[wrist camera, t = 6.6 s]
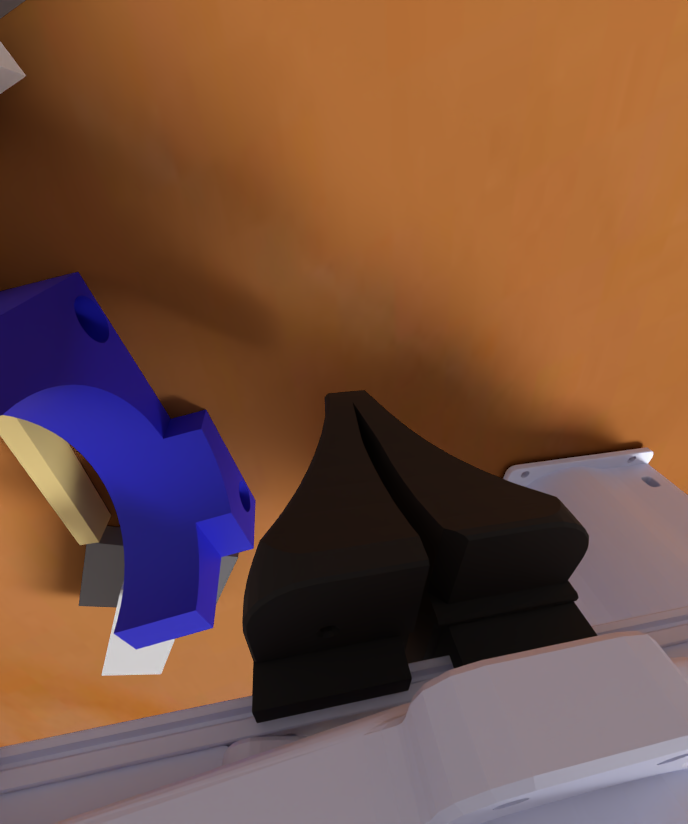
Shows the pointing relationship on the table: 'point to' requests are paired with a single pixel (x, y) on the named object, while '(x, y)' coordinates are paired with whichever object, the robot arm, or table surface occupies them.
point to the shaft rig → (82, 499)
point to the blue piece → (128, 455)
